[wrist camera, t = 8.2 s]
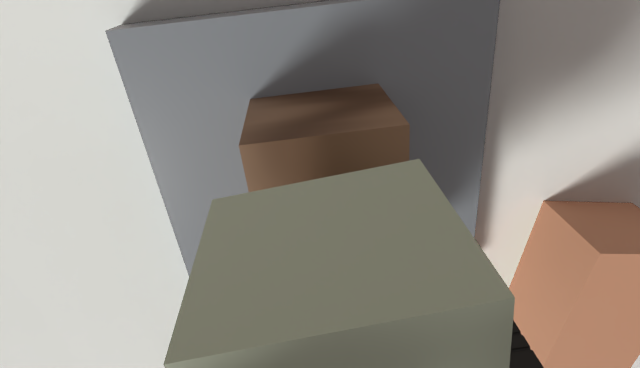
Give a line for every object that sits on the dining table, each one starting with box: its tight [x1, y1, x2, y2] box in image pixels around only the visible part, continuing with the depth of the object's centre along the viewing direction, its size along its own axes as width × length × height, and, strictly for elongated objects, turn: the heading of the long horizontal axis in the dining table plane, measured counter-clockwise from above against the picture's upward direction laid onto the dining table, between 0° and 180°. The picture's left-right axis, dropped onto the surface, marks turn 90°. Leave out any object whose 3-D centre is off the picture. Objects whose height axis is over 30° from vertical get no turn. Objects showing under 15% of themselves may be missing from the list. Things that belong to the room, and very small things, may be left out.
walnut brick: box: [239, 83, 410, 192], centre depth 16 cm, size 5×8×4 cm, turn 6°
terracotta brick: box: [509, 201, 640, 368], centre depth 21 cm, size 5×8×4 cm, turn 176°
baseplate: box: [106, 0, 500, 277], centre depth 18 cm, size 14×14×2 cm
